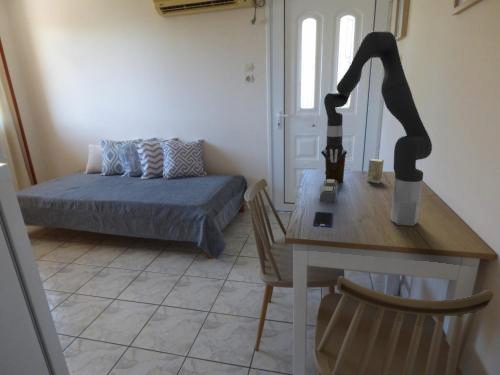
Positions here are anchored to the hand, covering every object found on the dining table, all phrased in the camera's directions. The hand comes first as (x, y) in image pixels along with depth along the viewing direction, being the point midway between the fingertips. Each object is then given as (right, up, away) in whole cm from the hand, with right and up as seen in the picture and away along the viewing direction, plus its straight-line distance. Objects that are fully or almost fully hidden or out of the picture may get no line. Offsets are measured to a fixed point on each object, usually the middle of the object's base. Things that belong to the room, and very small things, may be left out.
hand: (333, 169), depth 152 cm
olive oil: (+5, -6, +16) cm, 18 cm away
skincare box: (+26, -6, +12) cm, 29 cm away
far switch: (-1, -6, +1) cm, 6 cm away
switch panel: (-3, -13, -3) cm, 13 cm away
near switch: (-5, -10, -9) cm, 15 cm away
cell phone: (-13, -23, -30) cm, 40 cm away
